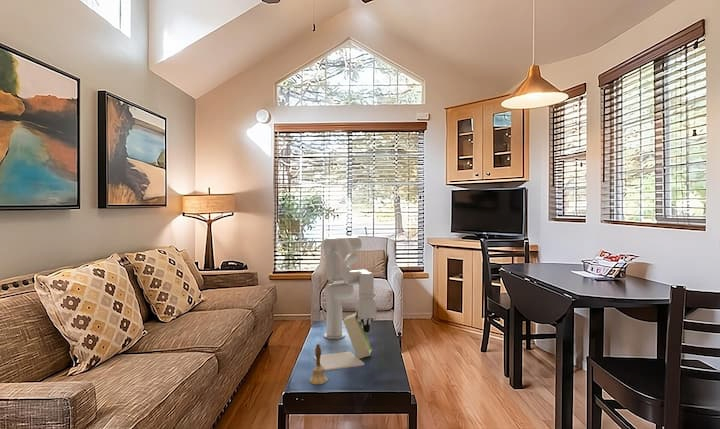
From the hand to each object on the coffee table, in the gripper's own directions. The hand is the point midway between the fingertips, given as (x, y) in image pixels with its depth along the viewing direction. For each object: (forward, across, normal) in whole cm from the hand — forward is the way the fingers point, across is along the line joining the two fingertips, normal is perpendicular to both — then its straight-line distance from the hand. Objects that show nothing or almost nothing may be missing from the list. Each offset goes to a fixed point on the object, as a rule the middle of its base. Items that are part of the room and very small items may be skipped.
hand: (366, 331), depth 220 cm
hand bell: (+13, +32, +20) cm, 39 cm away
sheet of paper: (+13, +15, 0) cm, 20 cm away
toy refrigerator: (+12, 0, 0) cm, 12 cm away
